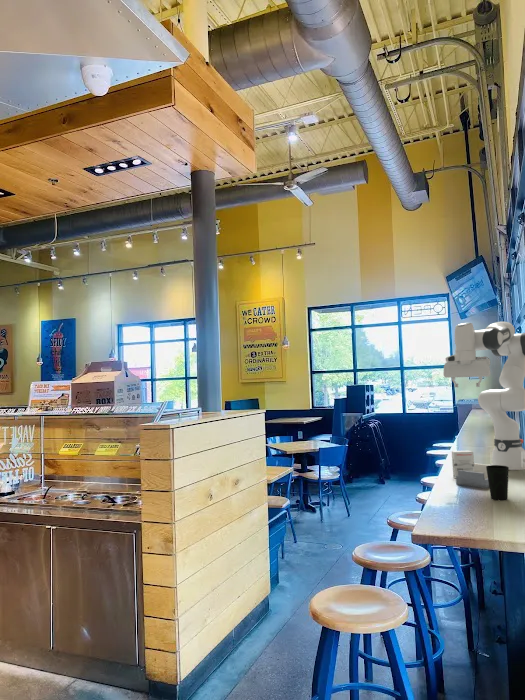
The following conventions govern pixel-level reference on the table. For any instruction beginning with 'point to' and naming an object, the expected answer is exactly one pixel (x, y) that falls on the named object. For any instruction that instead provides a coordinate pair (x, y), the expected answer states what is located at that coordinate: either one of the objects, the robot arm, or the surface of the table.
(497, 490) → the cup
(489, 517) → the table surface
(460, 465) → the ink box
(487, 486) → the gray stepped block
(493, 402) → the robot arm
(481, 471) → the pusher
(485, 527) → the table surface
